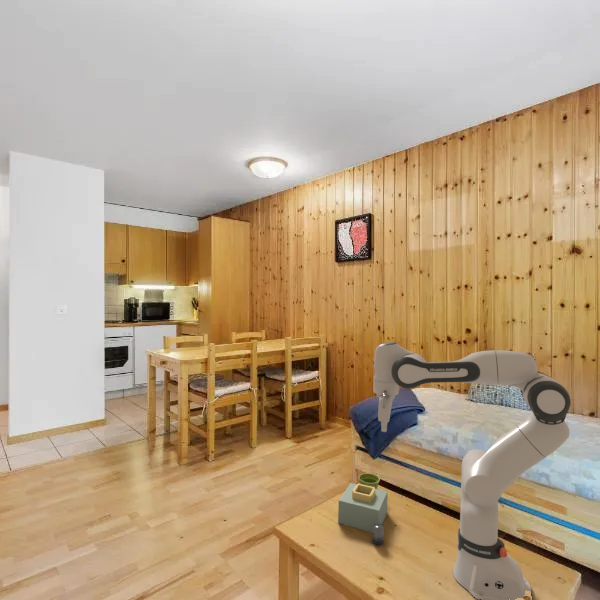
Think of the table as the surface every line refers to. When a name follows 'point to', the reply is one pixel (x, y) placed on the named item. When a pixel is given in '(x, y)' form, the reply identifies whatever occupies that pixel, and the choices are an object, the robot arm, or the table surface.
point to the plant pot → (369, 480)
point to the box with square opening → (362, 506)
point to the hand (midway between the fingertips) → (384, 426)
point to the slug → (378, 534)
